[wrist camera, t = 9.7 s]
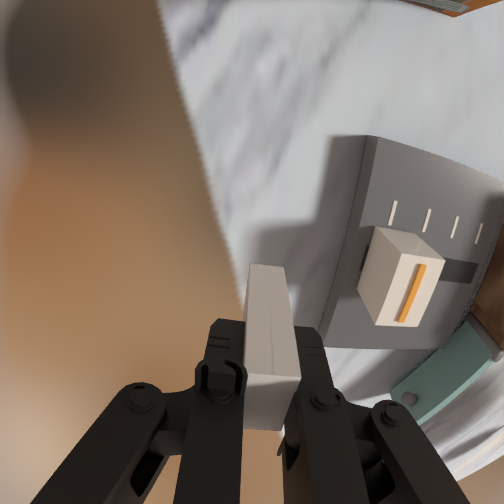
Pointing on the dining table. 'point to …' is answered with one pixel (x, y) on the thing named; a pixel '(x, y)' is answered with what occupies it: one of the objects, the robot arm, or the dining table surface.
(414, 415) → the rack door
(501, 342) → the box
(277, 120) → the dining table surface
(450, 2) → the milk carton
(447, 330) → the mixer strip
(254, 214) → the dining table surface
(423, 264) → the fader knob
